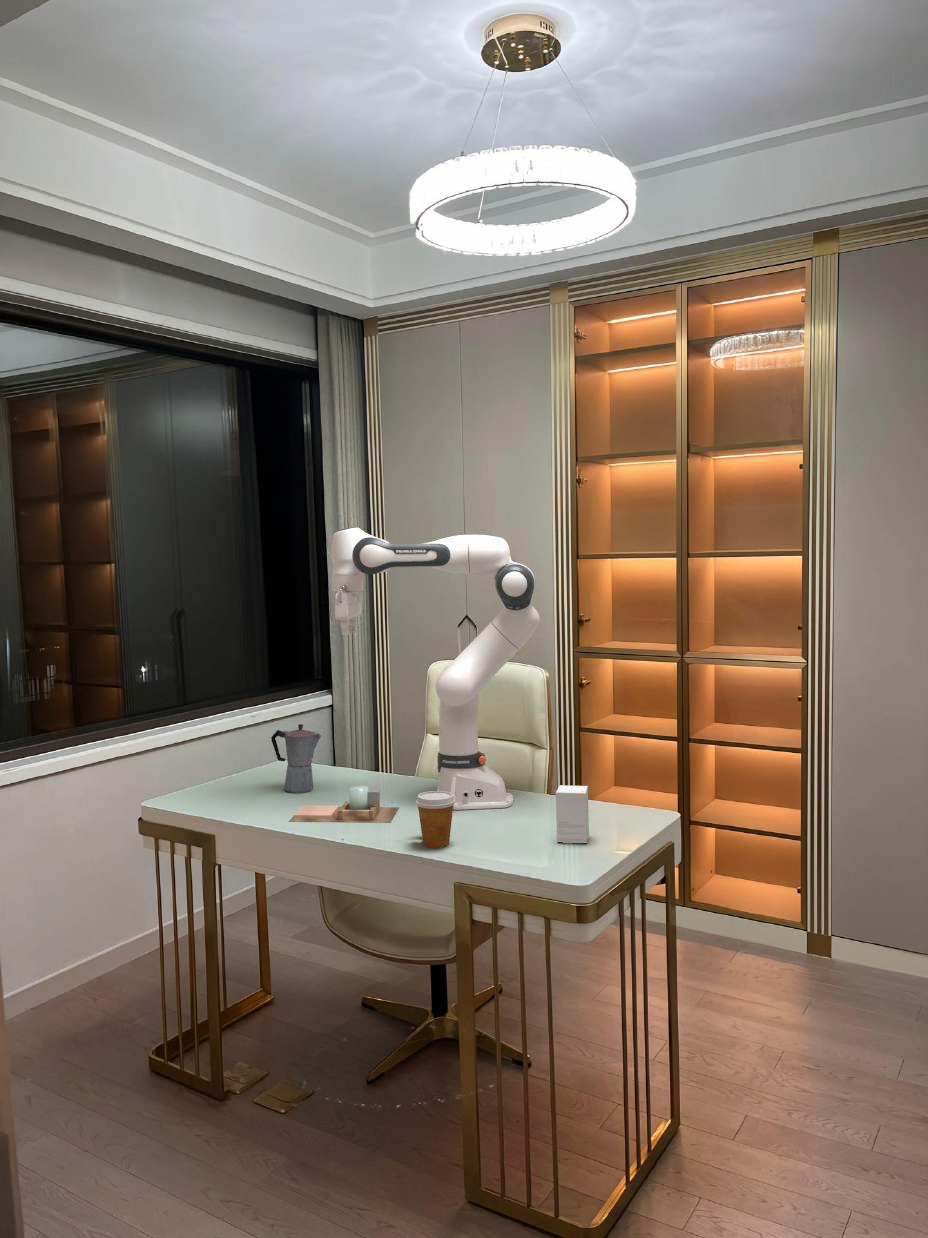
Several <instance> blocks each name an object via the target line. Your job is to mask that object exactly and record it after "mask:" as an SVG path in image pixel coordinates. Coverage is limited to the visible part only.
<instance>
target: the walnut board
mask: <svg viewBox="0 0 928 1238" xmlns="http://www.w3.org/2000/svg"><path fill="white" fill-rule="evenodd" d="M380 805H381V804H380ZM380 805H369V810H350V801H345V802H344V803H343V804H342V805H341V806H339V809H338V810H337V812H336V813H335V814H334V815H333V816H332V818H294V815H293V816H292V817H291V818H290V820H288V823H346V824H347V823H348V824H349V823H351V824H352V823H354V824H355V823H359V824H360V823H362V824H364V823H365V824H366V823H369V824H371V823H372V824H391V823H392V822H393V820H394V818H395V816H396V815H397V812H398V811H399V809H400V807H399V806H397V807H395V806H394V807H393V806H392V807H389V806H380Z"/></svg>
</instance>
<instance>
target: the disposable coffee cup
mask: <svg viewBox="0 0 928 1238" xmlns="http://www.w3.org/2000/svg"><path fill="white" fill-rule="evenodd" d="M454 802H455V799H454V796H453V794H452V793H450V792H445V791H437V790H430V791H424V792H421V793H418V795H417V799H416V800H415V803H416V806H417V810H418V816H419V822H420V823H419V824H420V830H421V836H422V843H423V844H422V845H423V846H424V847H426V846H427V847H426V848H429V847H430V849H440V848H439V847H442V848H444V847H443V846H446V847H448V846H449V845H450V839H451V831H452V830H451V829H452V821H453V811H454V809H453V805H454ZM447 845H448V846H447Z"/></svg>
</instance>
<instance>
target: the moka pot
mask: <svg viewBox="0 0 928 1238" xmlns="http://www.w3.org/2000/svg"><path fill="white" fill-rule="evenodd" d="M297 726H298V729H295V730H294V729H293V730H290V731H287V730H279V729H277V730H276V731H275V732H274V733H273V735H272V736H271V737H270V738H271V743H272V746H273V749H274V752H275V756H276V759H277V761H280V762H287V768H286V773H285V778H284V786H283V790H284V791H286V792H288V793H294V794H295V793H298V794H300V793H301V794H302V793H303V794H304V793H309V792H312V791H314V788H315V787H314V778H313V767H312V763H313V758H314V754H315V753H314V752H315V749H316V747H317V745H318V742H319V740H320V739H321V738H322V737H323V736H322V735H321V734H320V733H317V732H315V731H313V730H312V731H311V730H308V729H303V728H304V724H301V723H299V724H298V725H297ZM277 737H279V738H283V739H284V741H285V749H286V758H287V759H286V758H285V757H281V754H280V750H279V747H278V742H277V740H276V738H277ZM286 760H287V761H286Z"/></svg>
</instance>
